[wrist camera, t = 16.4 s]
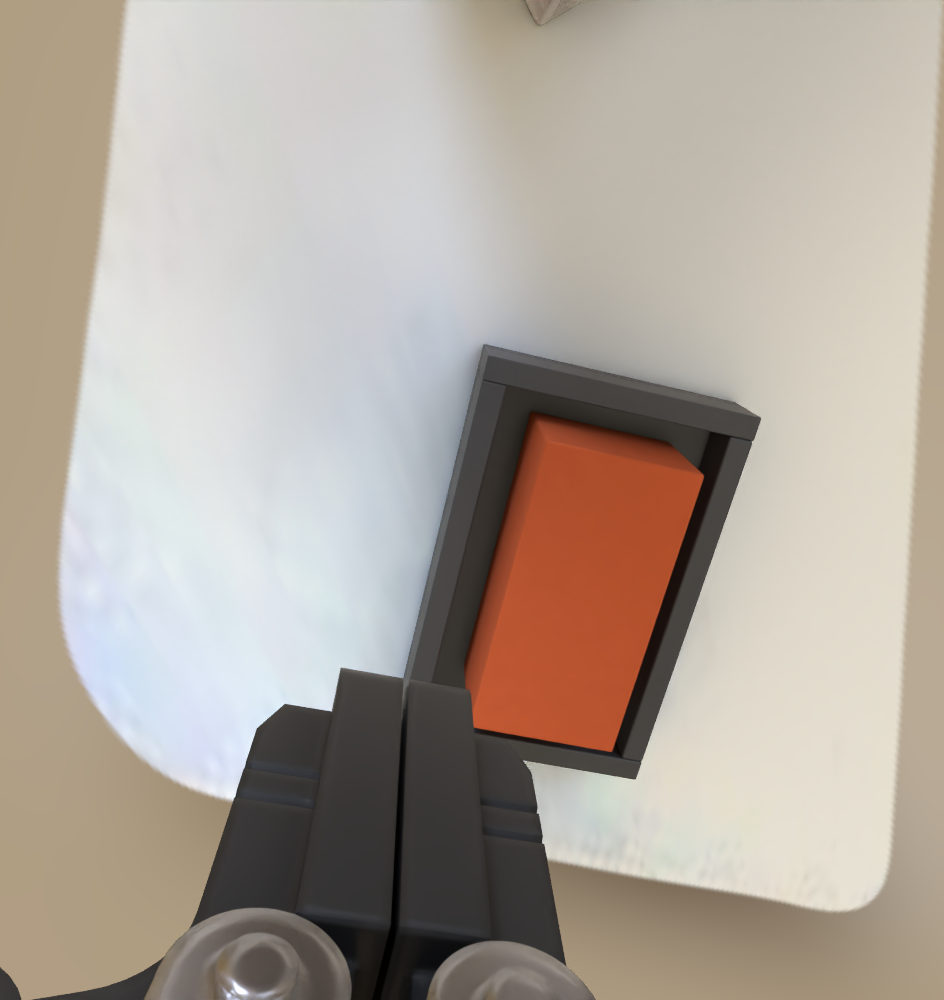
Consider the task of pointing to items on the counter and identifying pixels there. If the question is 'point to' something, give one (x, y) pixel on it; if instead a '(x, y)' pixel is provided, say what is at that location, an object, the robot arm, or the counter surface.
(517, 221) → the counter surface
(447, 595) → the tray
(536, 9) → the coffee box
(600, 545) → the orange-red rectangular block
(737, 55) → the counter surface
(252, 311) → the counter surface
